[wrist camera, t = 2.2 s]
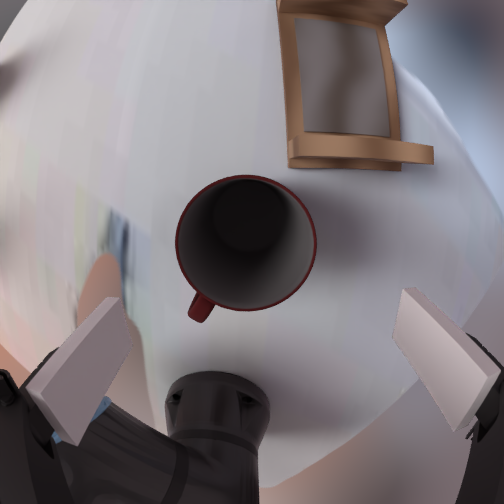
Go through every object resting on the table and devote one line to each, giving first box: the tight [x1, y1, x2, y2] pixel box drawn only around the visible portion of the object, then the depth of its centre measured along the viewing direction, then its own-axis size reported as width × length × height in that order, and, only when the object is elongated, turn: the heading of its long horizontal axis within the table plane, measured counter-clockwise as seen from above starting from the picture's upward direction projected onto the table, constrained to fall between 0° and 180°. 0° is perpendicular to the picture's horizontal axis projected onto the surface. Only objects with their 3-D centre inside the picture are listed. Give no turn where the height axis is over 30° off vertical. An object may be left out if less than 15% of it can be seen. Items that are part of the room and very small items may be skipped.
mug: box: [175, 175, 317, 323], centre depth 23 cm, size 12×9×11 cm
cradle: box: [276, 0, 434, 171], centre depth 19 cm, size 12×20×7 cm, turn 3°
